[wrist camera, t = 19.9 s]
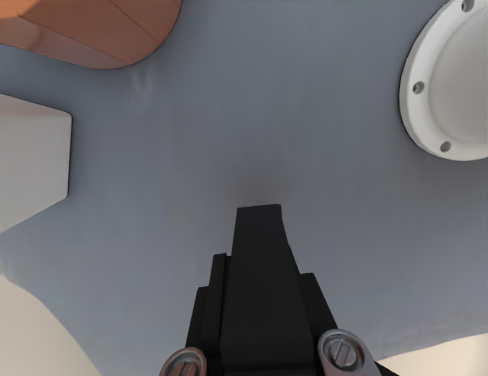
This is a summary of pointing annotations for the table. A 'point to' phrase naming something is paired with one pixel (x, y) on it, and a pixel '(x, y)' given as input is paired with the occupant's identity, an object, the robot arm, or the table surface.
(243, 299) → the ink cartridge
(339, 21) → the table surface
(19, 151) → the medicine bottle
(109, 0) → the terracotta pot
